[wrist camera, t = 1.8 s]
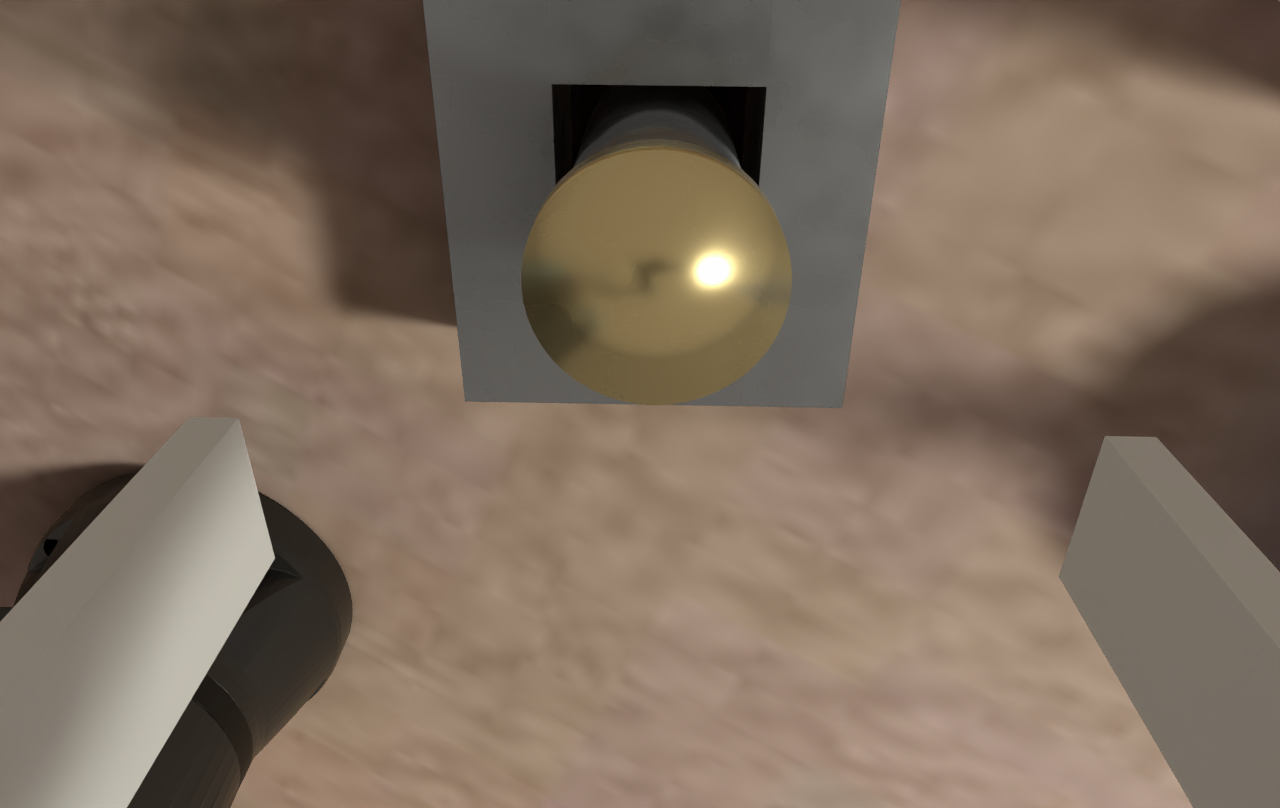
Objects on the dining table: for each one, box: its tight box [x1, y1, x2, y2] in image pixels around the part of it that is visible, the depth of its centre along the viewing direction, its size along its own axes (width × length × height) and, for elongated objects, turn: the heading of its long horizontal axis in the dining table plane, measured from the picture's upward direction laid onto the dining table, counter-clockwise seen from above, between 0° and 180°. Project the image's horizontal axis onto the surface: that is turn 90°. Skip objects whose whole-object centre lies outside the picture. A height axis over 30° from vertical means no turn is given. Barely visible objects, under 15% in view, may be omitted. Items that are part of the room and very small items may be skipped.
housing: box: [423, 0, 901, 408], centre depth 31 cm, size 14×16×6 cm
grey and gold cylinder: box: [521, 85, 792, 405], centre depth 27 cm, size 7×7×14 cm
